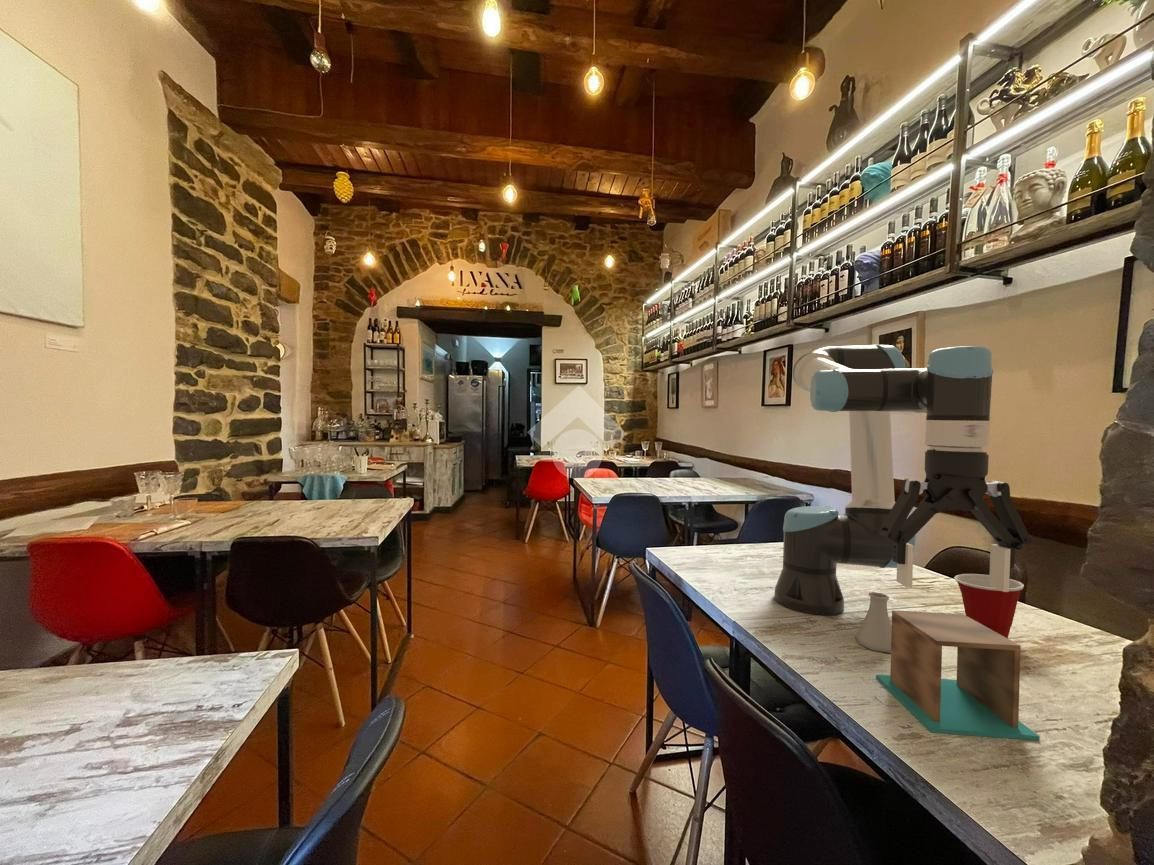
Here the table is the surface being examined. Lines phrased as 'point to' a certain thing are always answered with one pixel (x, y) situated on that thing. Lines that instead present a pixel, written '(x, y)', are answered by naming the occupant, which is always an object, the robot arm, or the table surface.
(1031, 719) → the table surface
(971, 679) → the brown wooden box frame
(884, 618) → the flask
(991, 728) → the mat
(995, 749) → the table surface
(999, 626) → the plastic cup
